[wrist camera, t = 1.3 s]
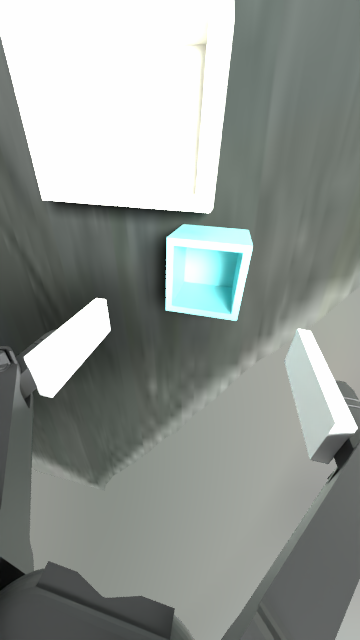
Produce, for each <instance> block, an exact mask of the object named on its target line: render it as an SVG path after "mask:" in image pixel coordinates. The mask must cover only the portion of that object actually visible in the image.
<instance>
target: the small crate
mask: <svg viewBox="0 0 360 640" xmlns="http://www.w3.org/2000/svg"><path fill="white" fill-rule="evenodd" d="M252 248H253V244H252V240H251V237H250V233H249V230H244V229H232V228H221V227H209V226H198V225H187V224H183V225H182V226H180V227H179V228H178V229H177V230H175V231H174V232H173V233H172V234H170V235H169V236H168V237H167V257H166V310H168V311H174V312H181V313H188V314H194V315H201V316H208V317H215V318H221V319H228V320H235V321H237V317H238V312H239V307H240V303H241V298H242V294H243V289H244V285H245V280H246V276H247V271H248V266H249V262H250V257H251V253H252Z"/></svg>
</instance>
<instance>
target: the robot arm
mask: <svg viewBox="0 0 360 640" xmlns="http://www.w3.org/2000/svg"><path fill="white" fill-rule="evenodd" d="M110 331H111V330H110V323H109V316H108V309H107V302H106V299H100V298H96V299H94V300H93V301H92V302H91V303H90V304H88V305H87V306H86V307H85V308H83V309H82V310H81V311H80V312H78V313H77V314H76V315H75V316H74V317H72V318H71V319H70V320H69V321H67V322H66V323H65V324H64V325H62V326H61V327H60V328H59V329H58V330H56V329H54V330H52V331H50V332H48V333H46V334H44V335H43V336H42V337H41V338H39V340H37V341H35V342H34V344H32V345H30V346H29V347H28V348H27V349H25V350H24V351H23V352H21V353H20V354H19V355H18V356H16V357H15V355H14V353H13V351H12V348H10V347H8V346H0V640H195V639H194V638H193V636H192V635H191V633H190V632H189V630H188V629H187V628H186V626H185V625H184V624H183V623H182V621H180V620H179V619H178V618H177V617H176V616H175V615H174V608H172V607H169V606H166V605H164V604H161V603H158V602H156V601H153V600H151V599H148V598H145V597H142V596H133V597H116V598H104V597H102V596H101V595H100V594H99V593H98V592H97V591H96V590H95V589H94V588H93V587H92V586H91V585H90V584H89V583H88V582H87V581H86V580H85V579H84V578H83V577H82V576H81V575H80V574H79V573H78V572H76V571H73V570H71V569H68V568H65V567H63V566H60V565H57V564H55V563H52V562H48V563H47V565H46V567H45V569H40V570H36V571H34V566H33V565H34V564H33V553H32V549H31V545H30V535H29V533H30V500H31V498H30V497H31V467H32V434H33V401H34V397H33V394H32V392H33V391H34V390H35V389H36V388H37V389H38V391H39V394H40V395H43V396H47V397H51V398H53V397H54V395H55V394H56V393H57V392H58V391H59V390H60V388H61V387H62V386H63V385H64V384H65V383H66V382H67V380H68V379H69V378H70V377H71V376H72V375H73V373H74V372H75V371H76V370H77V369H78V368H79V366H80V365H81V364H82V363H83V362H84V361H85V360H86V358H87V357H88V356H89V355H90V354H91V353H92V351H93V350H94V349H95V348H96V347H97V346H98V344H99V343H100V342H101V341H102V340H103V339H104V338H105V336H106V335H107V334H108V333H109V332H110ZM285 364H286V369H287V373H288V377H289V380H290V385H291V388H292V392H293V396H294V400H295V404H296V408H297V412H298V415H299V419H300V423H301V427H302V431H303V435H304V439H305V443H306V447H307V451H308V455H309V459H310V460H313V461H317V462H321V463H325V464H329V463H330V461H331V460H332V459H333V458H334V459H335V462H336V464H337V468H336V469H335V470H334V471H333V473H332V474H331V475H330V476H329V477H328V481H327V482H326V484H325V486H324V487H323V489H322V490H321V492H320V493H319V495H318V496H317V498H316V499H315V501H314V502H313V504H312V505H311V507H310V508H309V510H308V511H307V513H306V514H305V516H304V518H303V519H302V521H301V522H300V524H299V525H298V527H297V528H296V530H295V531H294V533H293V534H292V536H291V537H290V539H289V540H288V542H287V543H286V545H285V546H284V548H283V549H282V551H281V552H280V554H279V555H278V557H277V558H276V560H275V561H274V563H273V565H272V566H271V568H270V569H269V571H268V572H267V574H266V575H265V577H264V578H263V580H262V581H261V583H260V584H259V586H258V587H257V589H256V590H255V592H254V593H253V595H252V596H251V598H250V600H249V601H248V603H247V604H246V606H245V607H244V609H243V610H242V612H241V613H240V615H239V616H238V617H237V619H236V620H235V621H234V623H233V624H232V625H231V626H230V628H229V629H228V630H227V632H226V633H225V635H224V636H223V638H222V639H221V640H335V638H336V636H337V633H338V631H339V628H340V625H341V623H342V621H343V618H344V616H345V613H346V610H347V608H348V606H349V603H350V601H351V598H352V596H353V594H354V591H355V589H356V586H357V584H358V581H359V579H360V402H359V400H358V398H357V396H356V394H355V392H354V391H353V390H352V389H351V388H350V387H349V386H348V385H347V384H346V383H345V382H342V381H336V380H334V378H333V376H332V374H331V372H330V370H329V368H328V366H327V364H326V362H325V360H324V358H323V355H322V353H321V352H320V349H319V347H318V345H317V343H316V341H315V339H314V337H313V335H312V333H311V331H309V330H302V329H297V331H296V334H295V336H294V339H293V341H292V344H291V346H290V349H289V351H288V354H287V356H286V359H285Z"/></svg>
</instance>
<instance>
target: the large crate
mask: <svg viewBox="0 0 360 640" xmlns="http://www.w3.org/2000/svg"><path fill="white" fill-rule="evenodd" d="M233 30H234V0H0V34H1V38H2V42H3V46H4V50H5V54H6V58H7V62H8V66H9V69H10V73H11V77H12V81H13V85H14V89H15V93H16V97H17V101H18V105H19V109H20V113H21V117H22V121H23V125H24V129H25V133H26V137H27V141H28V145H29V149H30V153H31V157H32V161H33V165H34V168H35V172H36V176H37V180H38V184H39V188H40V192H41V196H42V200H47V201H60V202H73V203H86V204H98V205H111V206H124V207H137V208H150V209H162V210H175V211H188V212H201V213H210V212H211V211H212V209H213V205H214V196H215V187H216V179H217V170H218V161H219V152H220V144H221V135H222V126H223V117H224V109H225V100H226V91H227V82H228V74H229V65H230V56H231V47H232V39H233Z"/></svg>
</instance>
